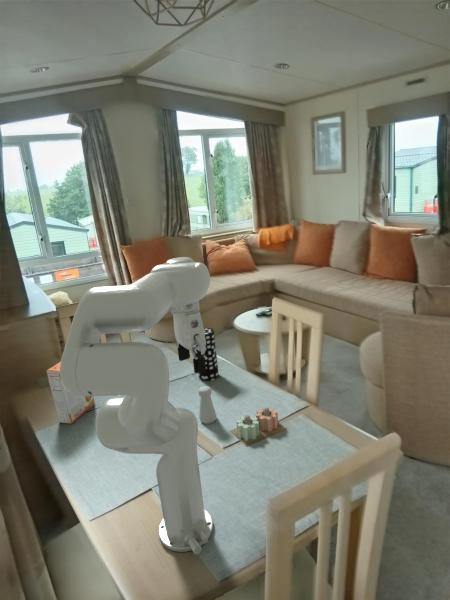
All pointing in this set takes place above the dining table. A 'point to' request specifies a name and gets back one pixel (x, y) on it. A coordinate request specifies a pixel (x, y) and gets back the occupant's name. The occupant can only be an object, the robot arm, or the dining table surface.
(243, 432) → the green gear
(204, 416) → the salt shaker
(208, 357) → the white-spotted black cylinder
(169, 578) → the dining table surface
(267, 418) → the terracotta gear
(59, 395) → the cracker box
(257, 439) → the gear board
